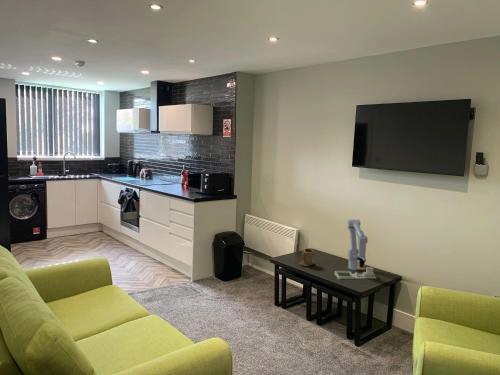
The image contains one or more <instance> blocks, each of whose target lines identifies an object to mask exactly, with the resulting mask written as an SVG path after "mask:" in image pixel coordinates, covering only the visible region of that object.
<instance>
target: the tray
mask: <svg viewBox="0 0 500 375" xmlns="http://www.w3.org/2000/svg"><path fill="white" fill-rule="evenodd" d="M339 274H349V276H347V275H346V276H344V275H343V276H341V275H339ZM353 274H354V273H352V272H351V271H350V270H335V271H334V275H335V277H336V278H337V280H338V281H340V280H355V279H356V278H355V277H354V275H353Z"/></svg>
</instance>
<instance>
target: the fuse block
mask: <svg viewBox="0 0 500 375" xmlns="http://www.w3.org/2000/svg"><path fill="white" fill-rule="evenodd" d="M352 274H353V275H354V277H355V279H377V277H376V276H375V273H374V272H373V276H368V277H367V274H366V271H363V272H362V273H358V272H356V271H355V272H354V273H352Z"/></svg>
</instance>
